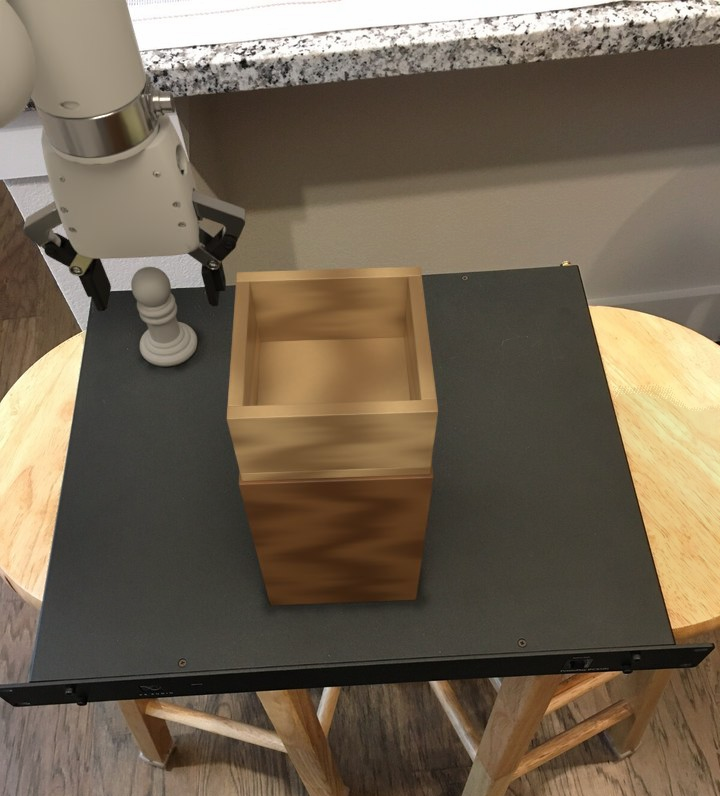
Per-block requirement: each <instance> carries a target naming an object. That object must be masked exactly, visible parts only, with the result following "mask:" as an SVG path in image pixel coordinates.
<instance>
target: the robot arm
mask: <svg viewBox="0 0 720 796" xmlns="http://www.w3.org/2000/svg"><path fill="white" fill-rule="evenodd" d="M129 10H130V9H129V6H128V3H127V0H0V129H2V128H4V127H6V126H8V125H9V124H11V123H13V122H14V121H15V120H16V119H17V118H18V117H19V116H20V115H22V113H23V112H24V111H25V109H26V107H28V106H27V105H28V104H29V102H30V101H31V99H32V101H33V105H34V107H35V109H36V112H37V115H38V116H39V119H40V122H41V124H42V131H41V139H40V140H41V141H40V142H41V148H42V155H43V160H44V164H45V169H46V174H47V179H48V182H49V186H50V190H51V193H52V197H53V201H52V202H51V203H49V204H47V205H45V206H44V207H42V208H41V209H39V210H37V211H35V212H34V213H32V214H29V216H27V217H26V218H25V221H24V224H23V228H22V232H23V234H24V235H25V236H26V237H28V238H29V240H31V241H32V242H33V243H34V244H36V245H37V246H38V247H39V248H42V249H44V253H45V256H48V257H49V258H51V259H53V260H54V261H56V262H58V263H60V264H62V265H64V266H66V267H68V271H69V273H70V274H71V275H72V276H75V277H78V278H79V281H80V283H81V285H82V288H83V290H84V293H85V294H86V296H87V297H88V298H91V299H92V301H93V303H94V306H95V308H96V310H97V311H98V312H105V311H106V310H107V309H108V307H109V302H110V295H111V291H112V285H111V282H110V279H109V277H108V275H107V272H106V269H105V267H104V265H103V262H102V259H103V260H104V259H106V260H107V259H135V258H136V259H137V258H153V257H154V258H157V257H170V256H171V257H172V256H181V255H186V254H187V255H189V256H190V257H191V258H192V259H194V260H196V261H197V262H199V263H200V264H201V268H200V269H201V271H200V274H201V277H202V281H203V286H204V290H205V293H206V297H207V300H208V304H209V305H211V306H212V307H218V306H219V304H220V303H219V301H220V292H225V291H226V290H227V289H226V287H227V281H226V274H225V270H224V265H223V261H224V260H225V259H226V258H227V257H228V256H229V255H230V254H231V253H232V252H233V251H234V250H235V249H236V247H237V243H238V240H239V239H240V238H241V235H242V232H243V230H244V228H245V226H246V216H247V212H246V210H245V208H243V207H241V206H239V205H235V204H233V203H230V202H227V201H225V200H221V199H219V198H216V197H213V196H210V195H208V194H205V193H202V192H199V187H198V186H197V182H196V179H195V177H194V173H193V170H192V167H191V163H190V162H189V158H188V156H187V154H186V151H185V148H184V146H183V143H182V141H181V139H180V136H179V134H178V131H177V130H176V127H175V125H174V123H173V122H172V119H171V118H170V116H169V115H168V114H174V113H175V112H176V104H175V98H174V94H173V92H172V90H170V91H162V90H161V89H156V88H155V86H154V84H152V82H151V78H150V74H148V73H146V70H145V67H144V62H143V58H142V55H141V51H140V48H139V43H138V39H137V36H136V32H135V28H134V24H133V20H132V18H131V14H130V11H129ZM204 219H206V220H208V221H212V222H215V223H218V224H220V225H222V226H223V227H222V228H221V229H220V230H219V231H218V232H217V233H216V234H215V233H214V232H213V231H211V230H210V229H209V228H207V227H206V226H205V225H203V224H202V223H201V221H204ZM199 221H200V222H199ZM61 225H62V227H63V229H64V232H65V234H66V237H65V236H64V235H61V234H60V233H58V232H54V230H53V229H56V227H59V226H61Z"/></svg>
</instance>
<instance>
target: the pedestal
mask: <svg viewBox="0 0 720 796" xmlns="http://www.w3.org/2000/svg"><path fill="white" fill-rule="evenodd" d="M434 477H435V476H434V469H433V461H432V462H431V468H430V474H422V475H394V476H367V477H339V478H312V479H284V480H256V481H242V478H241V474H240V470H239V472H238V487H239V490H240V495H241V499H242V502H243V506H244V511H245V514H246V518H247V522H248V526H249V529H250V533H251V536H252V541H253V545H254V549H255V552H256V556H257V560H258V564H259V567H260V568H259V569H260V572H261V576H262V579H263V583H264V587H265V591H266V594H267V598H268V602H269V605H270V606H289V605H292V606H293V605H316V604H318V605H319V604H341V603H342V604H343V603H367V602H368V603H370V602H371V603H372V602H390V601H391V602H394V601H415V600H417V595H418V589H419V581H420V575H421V570H422V569H421V567H422V561H423V553H424V547H425V541H426V533H427V527H428V521H429V520H428V519H429V513H430V504H431V499H432V490H433V485H434Z"/></svg>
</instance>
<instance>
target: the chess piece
mask: <svg viewBox="0 0 720 796" xmlns="http://www.w3.org/2000/svg"><path fill="white" fill-rule="evenodd" d="M130 282H131V284H130V285H131V287H130V288H131V292H132V295H133V297H134V298H135V299H136V309H137V311H138V312H139V317H140V319H141V320H142V321H143V322H144V323H146V326H147V329H146V331H144V333H143V334H142V336H141V337H140V341H139V351H140V354H141V356H142V357H143V358H144V359H145V361H147V362H149V364H152V365H154V366H158V367H172V366H173V367H174V366H177V365H180V364H182V363H184V362H186V361H187V360H189V359H190V358H191V357H192V356H193V355H194V354H195V352H196V350H197V347H198V336H197V334H196V331H194V329H193V328H192V327H191V326H190V325H188V324H187V323H184V322H181V321H178V319H177V313H178V305H177V303H176V298H175V296H174V294H172V292H171V290H172V285H171V281H170V278H169V277H168V275H167V273H166V272H165V271H163V270H162V269H160V268H158V267H155V266H144V267H141V268H139V269H138V270H137V271H135V273H134V274H133V276H132V279H131V281H130Z"/></svg>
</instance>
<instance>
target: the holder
mask: <svg viewBox="0 0 720 796" xmlns="http://www.w3.org/2000/svg"><path fill="white" fill-rule="evenodd" d="M233 307H234V308H233V321H232V335H231V336H232V337H231V347H230V348H231V349H230V364H229V379H228V380H229V382H228V393H227V394H228V395H227V406H226V422H227V426H228V431H229V433H230V438H231V442H232V446H233V450H234V453H235V458H236V462H237V466H238V469H239V470H240V474H241V478H242V481H256V480H284V479H312V478H339V477H367V476H394V475H422V474H430V468H431V462H432V463H433V454H434V446H435V445H434V444H435V439H436V431H437V425H438V417H439V405H438V400H437V399H438V397H437V390H436V380H435V373H434V366H433V365H434V364H433V357H432V348H431V340H430V332H429V323H428V316H427V308H426V299H425V291H424V283H423V276H422V268H421V266H396V267H395V266H394V267H364V268H363V267H361V268H331V269H330V268H329V269H302V270H301V269H299V270H298V269H297V270H295V269H294V270H266V271H237V272H236V278H235V293H234V305H233Z"/></svg>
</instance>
